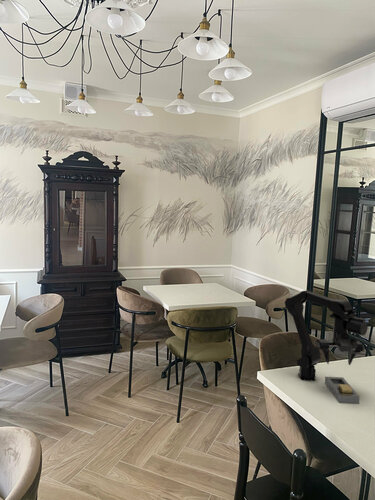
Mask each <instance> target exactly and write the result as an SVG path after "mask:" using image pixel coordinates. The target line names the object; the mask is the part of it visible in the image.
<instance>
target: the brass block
mask: <svg viewBox="0 0 375 500" xmlns="http://www.w3.org/2000/svg"><path fill="white" fill-rule="evenodd" d="M349 385H350V384H349ZM349 385H344V384H339V391H340V393H341V394H352V389H353V387H352V386H351V385H350V386H351V387H352V388H351V387H350V386H349Z"/></svg>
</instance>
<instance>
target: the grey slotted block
mask: <svg viewBox="0 0 375 500" xmlns="http://www.w3.org/2000/svg"><path fill="white" fill-rule="evenodd" d="M339 384H344V385H349V386H350V387H351V388H352V394H341V393H340V391H339ZM324 385H326V386H327V388H328V390H329V391H330V392H331V394H332V395H333V397H334V398H335V399H336V401H337V402H338V403H340V404H355V405H357V404H358V405H359V404H360V396H359V394H358V393H357V392H356V391H355V390H354V388H353V387H352V386H351V385H350V384H349V383H348V381H347V380H346V379H345V378H344V376H343V377H341V376H340V377H339V376H325V377H324Z"/></svg>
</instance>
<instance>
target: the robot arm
mask: <svg viewBox="0 0 375 500" xmlns="http://www.w3.org/2000/svg"><path fill="white" fill-rule="evenodd" d="M307 301H308V302H310V303H314V304H317V305H319V306H322V307H324V308H327V309H328V310H329V311H330V312H331V314H330V315H329V318H332V319H333V328H332V338H331V342H330V341H328V340H327V339H324V338H321V339H319V338H318V339H316V340H315V345H314V344H313V342H312V339H311V336H310V333H309V330H308V326H307V323H306V320H305V317H304V314H303V313H304V304H305V303H306V302H307ZM284 306H285V309H286V310H287V312H288V313H289V315H290V316H292V318H293V322H294V325H295V329H296V331H297V335H298V338H299V341H300V345H301V348H300V349H301V350H300V355H301V357H300V358H299V359H298V360H296V364H297V366H298V368H299V370H298V371H299V372H298V374H297V376H298V378H299V379H300V380H301V381H313V382H315V381H316V379H315V378H316V373H317V371H316V368H315V366H317V365H318V363H319V362H320V361H321V359H322V358H321V357H322V356H321V355H322V353H321V352H320V350H321V351H322V352H323V354H324V358H325V361H326V363H327V365H329V363H330V351H331V350H330V347H331V348H338V350H339V351H340V352H342V353H344V352H346V353H347V352H348V358H347V363H348V365H349V366H351V364H352V362H353V361H354V358H355V357H356V355H357V354H360V353H361V352H365V345H364V344H363V343H362V342H360V341H359V340H356V339H351V338H350V336H349V333H352V334H356V335H359V336H362V337H364V336H365V335H366V334H367V332H368V329H369V326H368V323H367V322H366V318H360V317H357V315H356V313H355V311H354V310H353V308H352V305H351V302H350V301H348V300H346V299H340V298H330V297H328V296H325V295H322V294H318V293H316V292H313V291H310V290H302V291H301V292H299V293H297V294H295V295H293V296H291V297H288V298H286V299H285V301H284Z"/></svg>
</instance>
